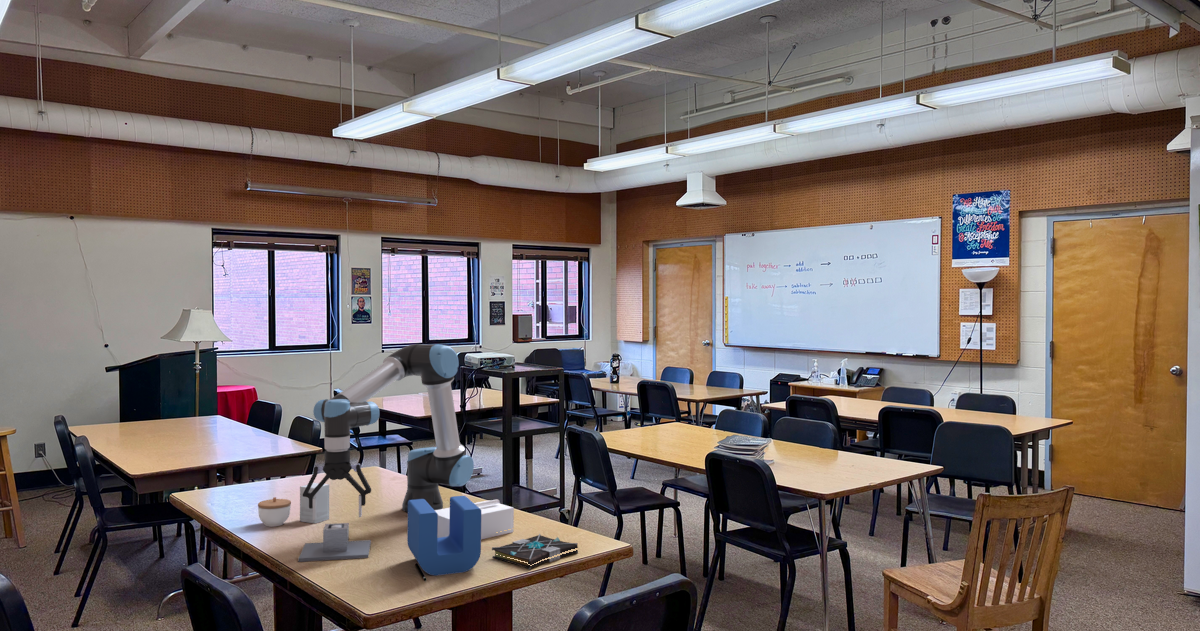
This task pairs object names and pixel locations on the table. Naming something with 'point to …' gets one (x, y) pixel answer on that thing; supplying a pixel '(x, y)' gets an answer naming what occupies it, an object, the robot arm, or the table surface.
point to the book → (534, 550)
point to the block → (445, 551)
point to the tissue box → (483, 519)
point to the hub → (335, 538)
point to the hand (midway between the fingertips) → (337, 517)
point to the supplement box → (321, 504)
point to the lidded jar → (274, 511)
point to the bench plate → (316, 552)
